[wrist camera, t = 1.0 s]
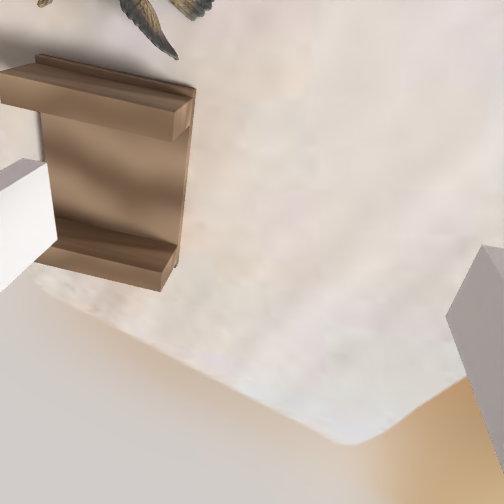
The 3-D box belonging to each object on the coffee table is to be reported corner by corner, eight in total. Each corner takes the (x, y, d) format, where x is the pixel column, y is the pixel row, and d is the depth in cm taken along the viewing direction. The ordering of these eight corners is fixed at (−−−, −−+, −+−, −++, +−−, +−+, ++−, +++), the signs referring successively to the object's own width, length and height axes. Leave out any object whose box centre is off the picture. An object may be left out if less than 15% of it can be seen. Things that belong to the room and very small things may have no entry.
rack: (41, 54, 31) (-5, 64, 27) (196, 89, 31) (175, 104, 27) (56, 234, 40) (23, 263, 36) (178, 263, 40) (159, 296, 35)
